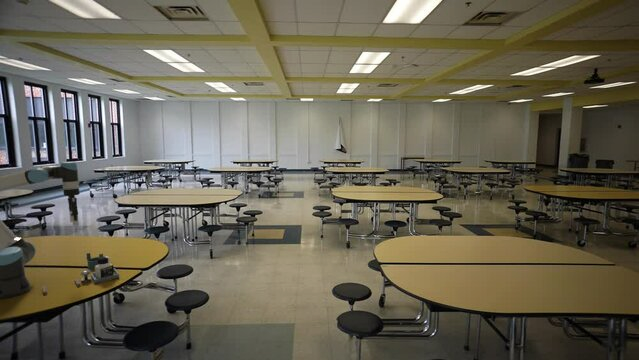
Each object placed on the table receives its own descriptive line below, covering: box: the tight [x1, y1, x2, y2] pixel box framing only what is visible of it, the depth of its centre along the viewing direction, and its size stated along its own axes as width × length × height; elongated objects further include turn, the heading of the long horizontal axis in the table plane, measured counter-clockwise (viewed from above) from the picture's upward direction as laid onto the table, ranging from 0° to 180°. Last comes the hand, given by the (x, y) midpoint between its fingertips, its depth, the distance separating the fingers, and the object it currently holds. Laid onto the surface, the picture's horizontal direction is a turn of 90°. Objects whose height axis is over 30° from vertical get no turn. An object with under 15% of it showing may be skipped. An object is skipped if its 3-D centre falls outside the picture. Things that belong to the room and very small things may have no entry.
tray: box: [90, 267, 120, 285], centre depth 200 cm, size 12×12×2 cm
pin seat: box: [42, 277, 82, 296], centre depth 187 cm, size 16×10×2 cm, turn 131°
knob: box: [80, 269, 92, 283], centre depth 196 cm, size 5×5×6 cm
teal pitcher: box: [85, 252, 104, 270], centre depth 217 cm, size 9×9×9 cm
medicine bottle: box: [94, 255, 114, 278], centre depth 199 cm, size 7×7×12 cm
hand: (74, 223), depth 200 cm, fingers open, 13 cm apart
